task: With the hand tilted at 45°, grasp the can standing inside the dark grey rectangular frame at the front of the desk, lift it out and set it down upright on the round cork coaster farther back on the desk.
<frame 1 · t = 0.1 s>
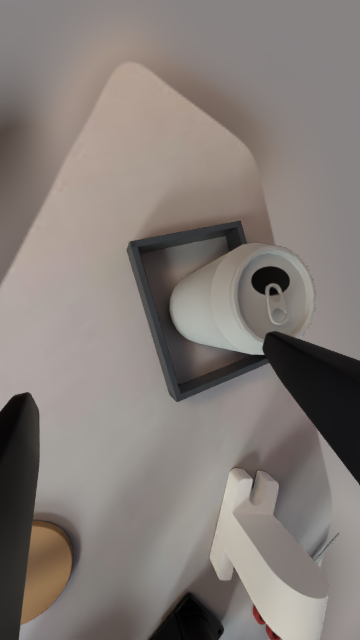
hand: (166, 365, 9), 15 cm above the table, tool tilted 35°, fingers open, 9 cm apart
cork coaster: (21, 569, 20), on the table
dark grey rectangular frame: (200, 308, 25), on the table
can: (199, 308, 26), resting in dark grey rectangular frame
white phone stand: (238, 513, 27), on the table
scissors: (307, 584, 28), point 1 cm above the table
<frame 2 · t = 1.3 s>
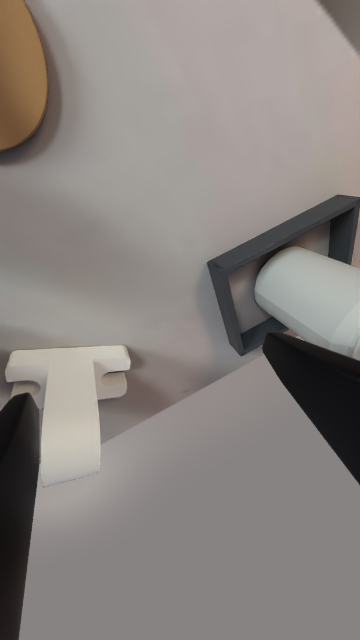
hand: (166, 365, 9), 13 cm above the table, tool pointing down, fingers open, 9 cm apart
dark grey rectangular frame: (277, 277, 27), on the table
can: (276, 276, 27), resting in dark grey rectangular frame
white phone stand: (73, 367, 23), on the table
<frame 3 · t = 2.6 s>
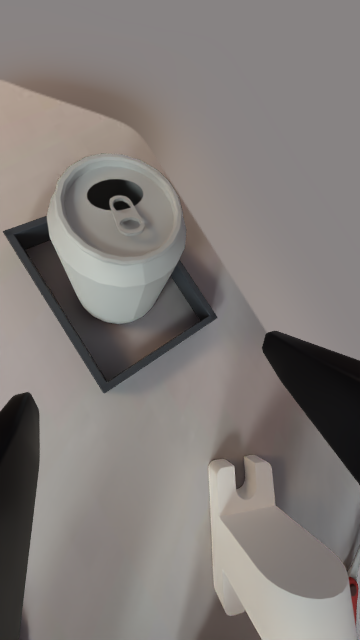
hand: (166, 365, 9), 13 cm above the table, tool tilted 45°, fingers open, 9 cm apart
dark grey rectangular frame: (118, 287, 23), on the table
can: (118, 288, 23), resting in dark grey rectangular frame
white phone stand: (237, 517, 21), on the table
scissors: (357, 588, 21), point 1 cm above the table
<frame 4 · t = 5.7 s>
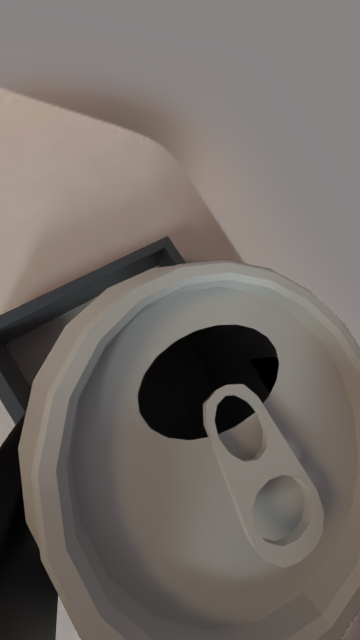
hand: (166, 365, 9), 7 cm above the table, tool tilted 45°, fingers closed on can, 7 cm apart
dark grey rectangular frame: (149, 392, 15), on the table
can: (148, 391, 15), resting in dark grey rectangular frame, touching gripper
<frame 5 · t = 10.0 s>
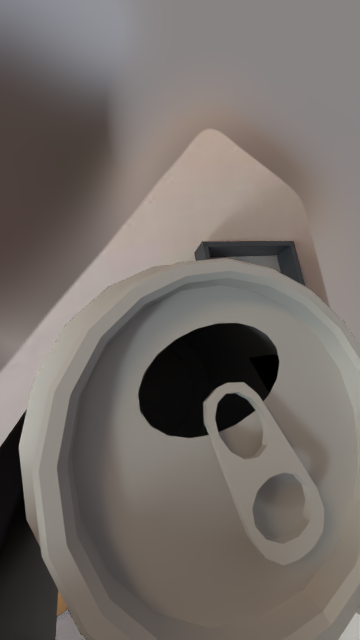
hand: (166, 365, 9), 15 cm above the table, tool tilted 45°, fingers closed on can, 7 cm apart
dark grey rectangular frame: (252, 312, 27), on the table
can: (149, 391, 15), point 8 cm above the table, touching gripper
white phone stand: (283, 550, 23), on the table
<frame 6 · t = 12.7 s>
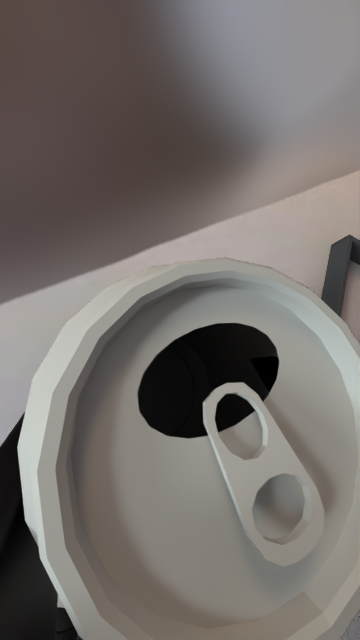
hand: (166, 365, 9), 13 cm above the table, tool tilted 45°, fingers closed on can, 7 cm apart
can: (148, 391, 15), point 6 cm above the table, touching gripper
when the fingers open (7 cm above the table, at t = 14.8 s): can stays where it is, resting on cork coaster.
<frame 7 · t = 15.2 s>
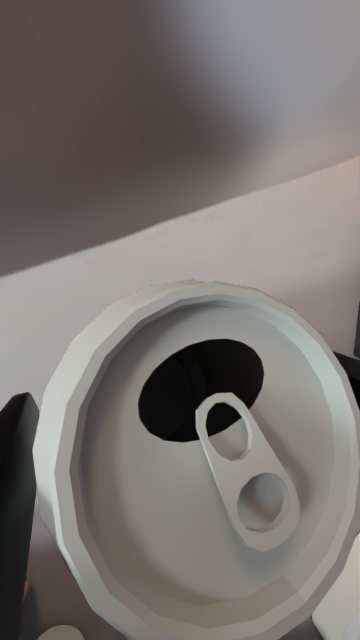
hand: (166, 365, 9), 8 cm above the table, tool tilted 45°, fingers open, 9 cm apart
can: (148, 394, 16), resting on cork coaster
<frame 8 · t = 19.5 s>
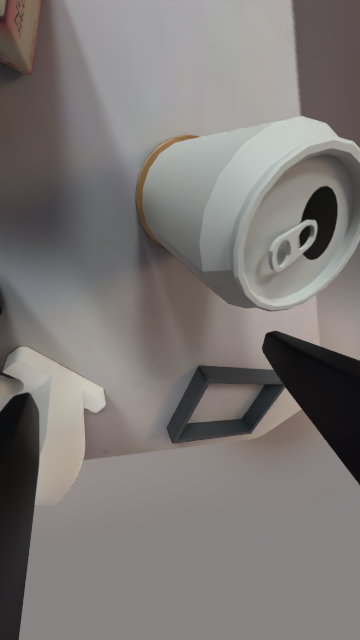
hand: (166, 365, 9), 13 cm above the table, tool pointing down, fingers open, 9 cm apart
cork coaster: (185, 199, 19), on the table
dark grey rectangular frame: (224, 397, 36), on the table
can: (186, 200, 18), resting on cork coaster
white phone stand: (49, 385, 23), on the table
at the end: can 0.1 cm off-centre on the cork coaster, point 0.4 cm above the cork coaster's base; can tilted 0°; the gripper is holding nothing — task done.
